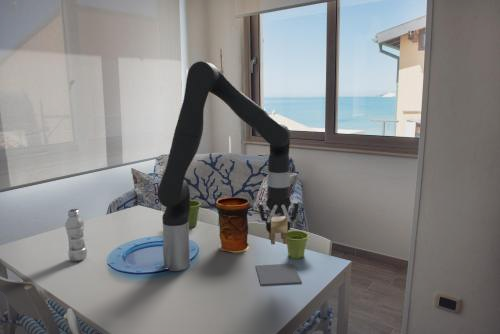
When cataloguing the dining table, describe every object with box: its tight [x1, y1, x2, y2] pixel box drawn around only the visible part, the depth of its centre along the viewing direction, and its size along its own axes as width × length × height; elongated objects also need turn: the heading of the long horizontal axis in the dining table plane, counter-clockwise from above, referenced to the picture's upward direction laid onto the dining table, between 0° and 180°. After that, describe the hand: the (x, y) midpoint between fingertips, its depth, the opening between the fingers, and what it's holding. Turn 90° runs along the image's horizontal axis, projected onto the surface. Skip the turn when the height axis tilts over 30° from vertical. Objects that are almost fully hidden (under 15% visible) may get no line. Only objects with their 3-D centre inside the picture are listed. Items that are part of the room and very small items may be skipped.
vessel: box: [215, 196, 251, 254], centre depth 156 cm, size 14×14×20 cm
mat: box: [255, 263, 303, 286], centre depth 133 cm, size 14×14×1 cm
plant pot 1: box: [188, 199, 202, 229], centre depth 182 cm, size 12×12×11 cm
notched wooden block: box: [268, 215, 289, 245], centre depth 130 cm, size 6×6×8 cm
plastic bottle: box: [64, 208, 88, 262], centre depth 144 cm, size 6×7×20 cm
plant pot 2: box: [286, 230, 310, 259], centre depth 148 cm, size 9×9×9 cm
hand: (278, 231), depth 130 cm, fingers closed on notched wooden block, 5 cm apart
